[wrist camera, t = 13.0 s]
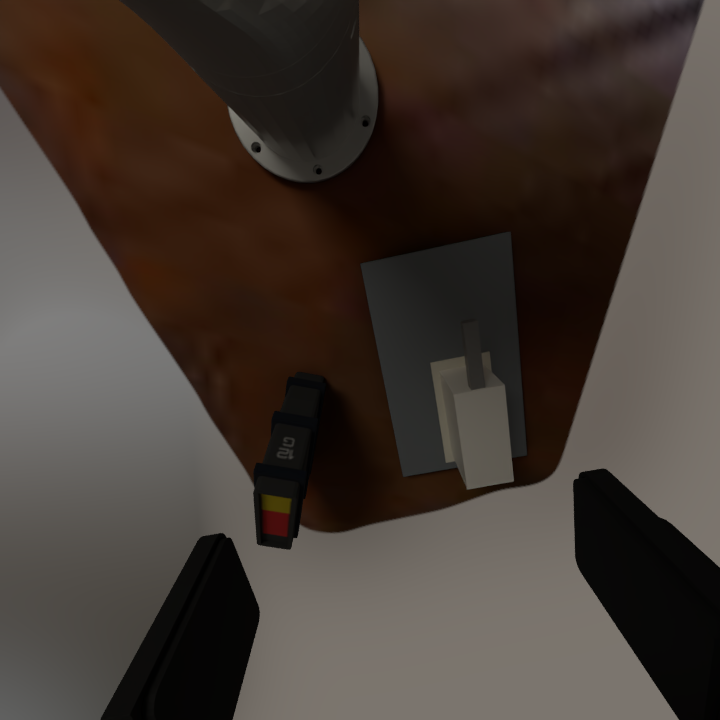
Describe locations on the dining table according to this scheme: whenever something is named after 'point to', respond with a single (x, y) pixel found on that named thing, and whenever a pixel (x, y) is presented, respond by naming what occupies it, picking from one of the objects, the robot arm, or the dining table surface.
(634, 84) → the dining table surface
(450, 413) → the plug
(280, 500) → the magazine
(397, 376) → the board
